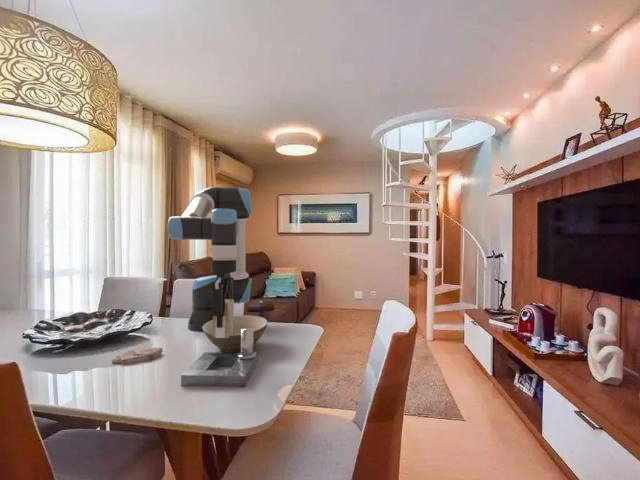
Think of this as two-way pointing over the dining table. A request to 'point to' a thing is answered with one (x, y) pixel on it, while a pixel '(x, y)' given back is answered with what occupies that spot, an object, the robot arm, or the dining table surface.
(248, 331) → the round door knob
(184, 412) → the dining table surface
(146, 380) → the dining table surface
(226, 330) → the box
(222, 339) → the bowl
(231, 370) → the square recessed tray
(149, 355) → the stone
